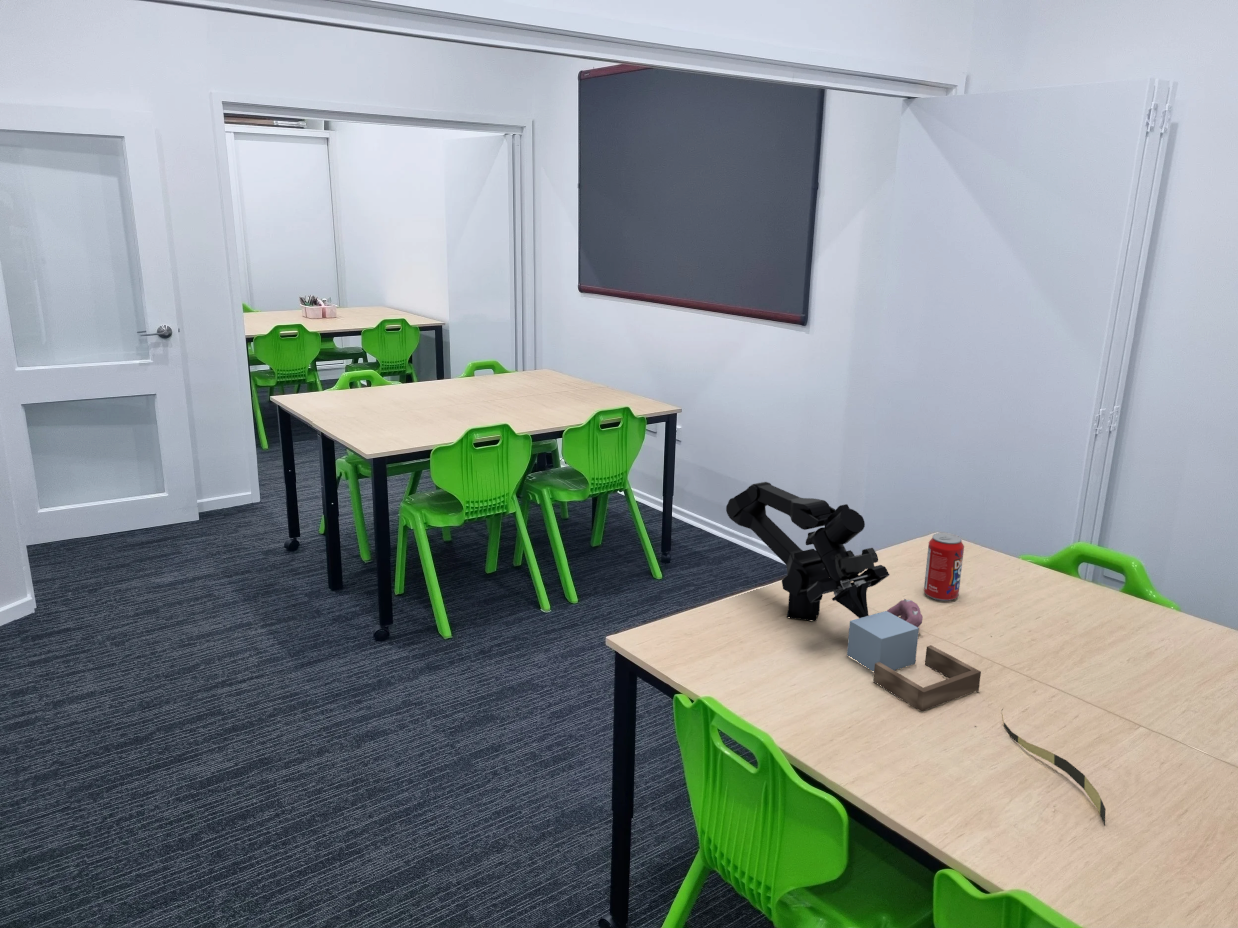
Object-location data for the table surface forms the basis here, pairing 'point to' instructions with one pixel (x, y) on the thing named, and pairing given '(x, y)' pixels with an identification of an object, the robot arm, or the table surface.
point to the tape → (1065, 767)
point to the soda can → (944, 567)
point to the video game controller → (907, 612)
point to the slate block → (882, 641)
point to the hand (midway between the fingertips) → (866, 620)
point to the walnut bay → (956, 686)
